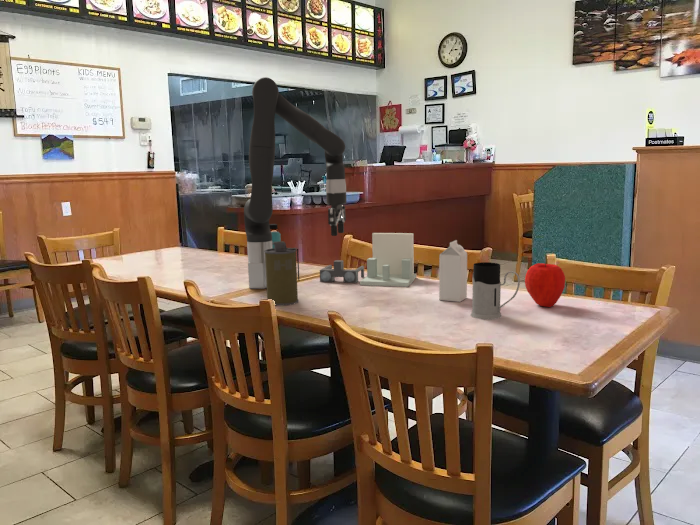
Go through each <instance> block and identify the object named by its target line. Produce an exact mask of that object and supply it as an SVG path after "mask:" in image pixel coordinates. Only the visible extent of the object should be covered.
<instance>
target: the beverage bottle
mask: <svg viewBox="0 0 700 525" xmlns="http://www.w3.org/2000/svg"><path fill="white" fill-rule="evenodd" d="M269 227H270V230H278V229H279V228H278V224H277V223H269ZM271 233H272V242H280V241H282V239H281V235H282V234H281V233H280V232H279V231H271ZM272 248H274V245H273V244H272Z"/></svg>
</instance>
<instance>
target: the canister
mask: <svg viewBox="0 0 700 525" xmlns="http://www.w3.org/2000/svg"><path fill="white" fill-rule="evenodd" d="M272 244H273V245H274V248H272V249H267V250H265V251H264V252H265V263H266V283H267V288H266V300H267V299H272V300H274V301H275V304H276V305H275V306H276V307H277V305H284V306H290V304H291V305H294V303H295V304H298V302H299V301H300V300H299V297H298V296H299V294H298V293H299V292H298V281H300V263H299V249H298V248H297V247H287V244H286V242H285V241H283V240H281V241H280V242H272Z"/></svg>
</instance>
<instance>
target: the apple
mask: <svg viewBox="0 0 700 525" xmlns="http://www.w3.org/2000/svg"><path fill="white" fill-rule="evenodd" d="M524 284H525V285H524V286H525V289H526V291H527V293H528V294H529V295H530V297H531V299H532V301H534V302H535V304H537V305H538V306H541V307H546V308H551V307H554V306H555V304H557V302H558V301H559V300H560V298H561V297H562V294H563V292H564V290H565V288H566V275H565V272H564V271H563V269H562V267H560V266H559V265H557V264H554V263H553V264H552V263H547V262H545V263H542V262H540V263H535V264H533V265H531V266H530V267H529V268H528V269H527V271H526V273H525V278H524Z"/></svg>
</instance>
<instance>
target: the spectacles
mask: <svg viewBox="0 0 700 525" xmlns="http://www.w3.org/2000/svg"><path fill="white" fill-rule="evenodd" d="M344 267H345V266H344V260H343V259H342V260H339V259H337V260H333V265H332V264H328V265H326V266H325V267H323V268H321V269H319V282H320V283H321V282H325V283H333V282H334V281H335V278H343V283H347V284H348V283H349V284H351V283H352V284H353V283H354V284H356V283H358V282H359V272H360V278H365V266H364V265H361V266H359V267H357V268H356V269H348V268H347V269H346V268H345V269H344Z"/></svg>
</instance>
